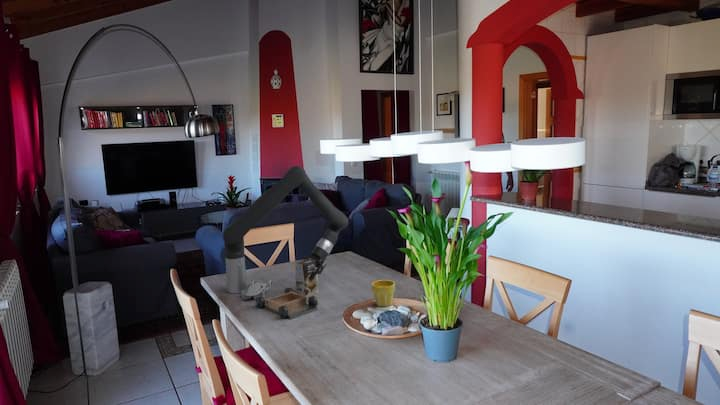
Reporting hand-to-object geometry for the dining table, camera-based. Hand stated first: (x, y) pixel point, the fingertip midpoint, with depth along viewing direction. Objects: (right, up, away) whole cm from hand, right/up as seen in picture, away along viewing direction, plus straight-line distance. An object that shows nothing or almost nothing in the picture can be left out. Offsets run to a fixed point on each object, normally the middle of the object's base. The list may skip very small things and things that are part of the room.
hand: (304, 278), depth 238 cm
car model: (-24, -9, +7) cm, 26 cm away
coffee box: (+1, -8, +2) cm, 9 cm away
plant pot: (+37, -10, -15) cm, 41 cm away
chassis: (-6, -11, -14) cm, 19 cm away
